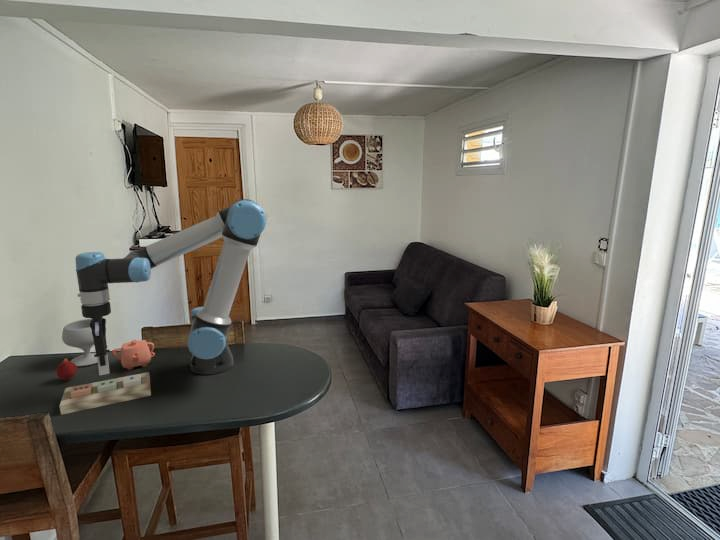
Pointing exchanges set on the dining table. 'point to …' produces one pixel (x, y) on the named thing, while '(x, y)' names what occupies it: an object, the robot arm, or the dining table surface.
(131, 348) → the teapot
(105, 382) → the key two
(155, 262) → the robot arm
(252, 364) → the dining table surface
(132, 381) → the key one
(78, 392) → the key three
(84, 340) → the chalice
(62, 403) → the key board
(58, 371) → the onion
